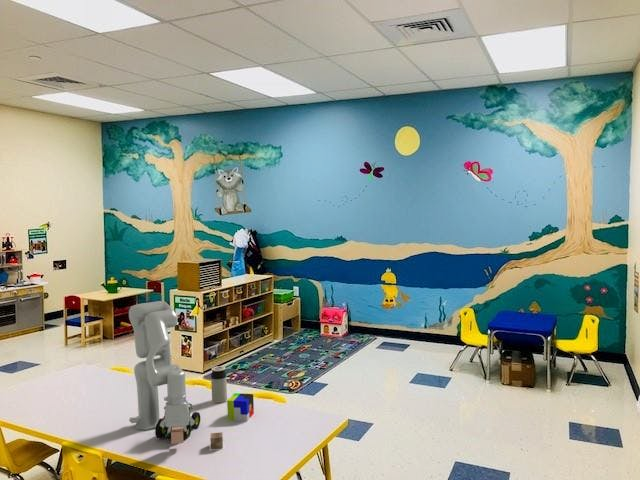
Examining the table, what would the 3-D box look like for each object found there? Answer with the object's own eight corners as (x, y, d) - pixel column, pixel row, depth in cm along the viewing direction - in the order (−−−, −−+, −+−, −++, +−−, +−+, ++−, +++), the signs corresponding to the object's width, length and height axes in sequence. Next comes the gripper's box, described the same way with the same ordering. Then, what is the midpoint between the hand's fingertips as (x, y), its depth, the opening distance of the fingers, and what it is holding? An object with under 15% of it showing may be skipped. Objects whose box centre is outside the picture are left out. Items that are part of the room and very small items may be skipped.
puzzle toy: (247, 421, 256) (246, 401, 256) (227, 420, 258) (227, 400, 258) (253, 413, 266) (253, 394, 265) (235, 412, 268) (234, 393, 267)
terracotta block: (171, 443, 225) (171, 432, 225) (172, 438, 230) (172, 427, 229) (183, 442, 226) (183, 431, 225) (184, 437, 231) (184, 426, 230)
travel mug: (229, 398, 287) (228, 366, 286) (224, 403, 279) (222, 370, 278) (215, 397, 289) (214, 365, 287) (209, 403, 281) (208, 370, 280)
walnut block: (210, 449, 226) (210, 438, 226) (211, 444, 231) (210, 433, 231) (222, 448, 227) (222, 437, 227) (222, 443, 232) (222, 432, 231)
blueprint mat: (197, 456, 222) (197, 454, 222) (199, 443, 234) (198, 442, 234) (230, 452, 224) (230, 451, 224) (230, 440, 236) (230, 439, 236)
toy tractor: (202, 425, 254) (201, 394, 253) (182, 445, 232) (181, 412, 231) (175, 423, 256) (174, 393, 255) (153, 443, 235) (151, 411, 234)
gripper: (155, 404, 221) (156, 445, 223) (196, 401, 224) (197, 442, 226) (157, 397, 228) (158, 437, 230) (197, 394, 231) (198, 434, 233)
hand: (177, 439), depth 228 cm, fingers closed on terracotta block, 5 cm apart
